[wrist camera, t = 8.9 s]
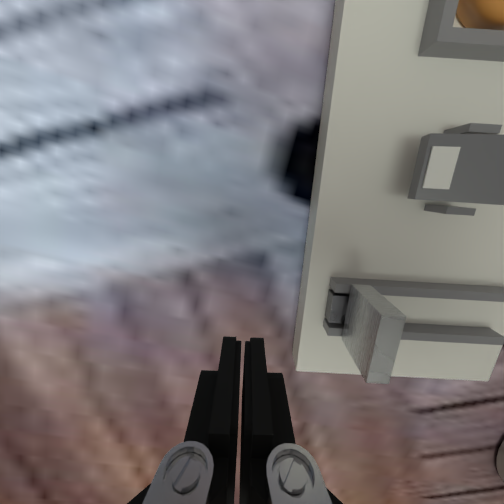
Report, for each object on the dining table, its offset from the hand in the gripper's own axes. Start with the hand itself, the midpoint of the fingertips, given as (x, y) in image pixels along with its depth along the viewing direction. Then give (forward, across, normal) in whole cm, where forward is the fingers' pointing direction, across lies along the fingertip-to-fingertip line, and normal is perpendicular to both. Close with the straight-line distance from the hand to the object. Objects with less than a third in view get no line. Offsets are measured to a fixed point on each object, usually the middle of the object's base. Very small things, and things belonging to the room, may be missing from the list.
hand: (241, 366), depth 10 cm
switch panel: (+9, -12, -9) cm, 17 cm away
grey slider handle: (+7, -7, 0) cm, 10 cm away
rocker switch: (+5, -12, -9) cm, 16 cm away
